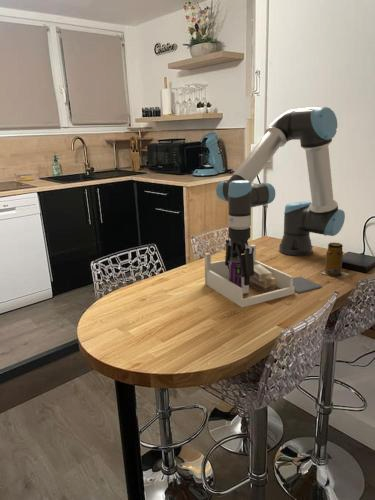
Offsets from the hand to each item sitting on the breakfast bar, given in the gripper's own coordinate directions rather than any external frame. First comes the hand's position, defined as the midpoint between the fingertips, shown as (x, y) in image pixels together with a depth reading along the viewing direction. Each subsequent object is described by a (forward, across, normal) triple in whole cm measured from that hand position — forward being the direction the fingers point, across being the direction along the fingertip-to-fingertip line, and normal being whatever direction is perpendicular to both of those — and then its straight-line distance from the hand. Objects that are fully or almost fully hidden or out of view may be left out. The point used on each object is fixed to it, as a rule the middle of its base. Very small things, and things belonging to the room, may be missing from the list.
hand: (238, 289), depth 137 cm
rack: (+1, 0, +4) cm, 4 cm away
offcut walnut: (+1, 0, +9) cm, 9 cm away
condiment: (+1, +5, +42) cm, 42 cm away
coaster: (+1, +7, +22) cm, 23 cm away
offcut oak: (-1, 0, +9) cm, 9 cm away
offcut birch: (-4, 0, +9) cm, 10 cm away
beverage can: (+1, 0, 0) cm, 1 cm away
